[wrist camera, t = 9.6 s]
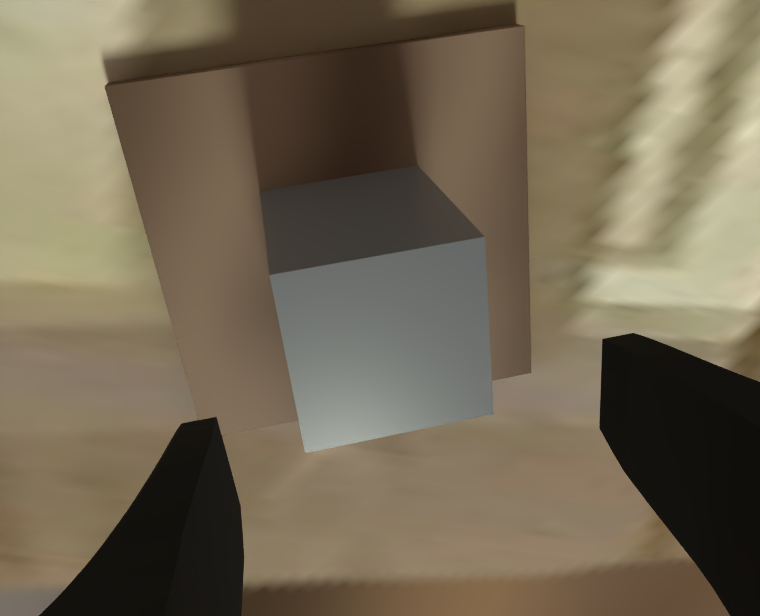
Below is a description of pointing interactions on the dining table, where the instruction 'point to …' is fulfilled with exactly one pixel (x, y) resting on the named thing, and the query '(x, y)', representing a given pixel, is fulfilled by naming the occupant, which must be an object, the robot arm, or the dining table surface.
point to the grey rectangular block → (378, 305)
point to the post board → (314, 164)
